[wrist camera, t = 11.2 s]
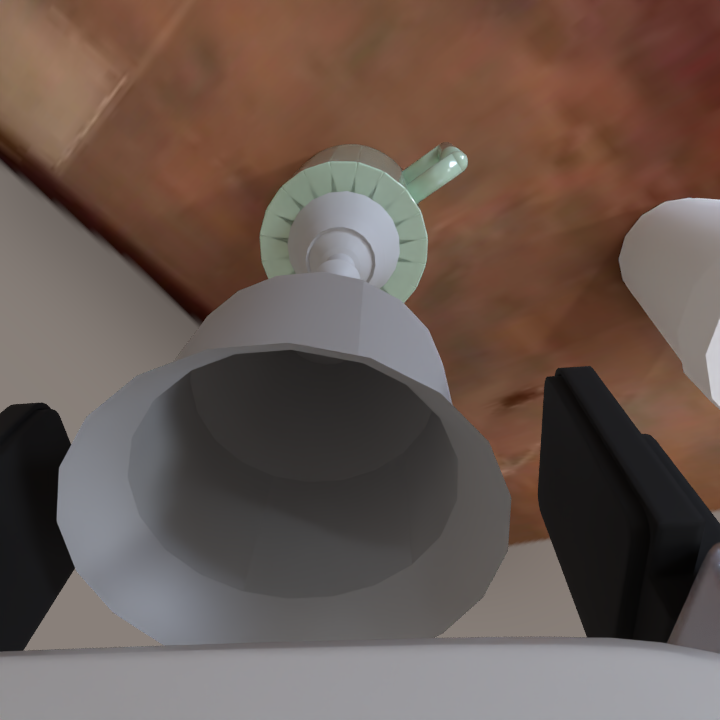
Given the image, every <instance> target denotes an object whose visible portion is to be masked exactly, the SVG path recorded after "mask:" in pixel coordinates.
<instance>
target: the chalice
mask: <svg viewBox="0 0 720 720" xmlns="http://www.w3.org/2000/svg"><path fill="white" fill-rule="evenodd" d="M287 245H288V252H289V259H290V263H291V265H292V267H293V269H294V271H295V273H296V274H291V275H280V276H275V277H272V278H270V279H267V280H265V281H262V282H260V283H257V284H255V285H252V286H250V287H247V288H244V289H242V290H239V291H237V292H236V293H235V294H234V295H233V296H231V297H230V298H229V299H228V300H226V301H225V302H224V303H223V304H222V305H220V306H219V307H218V308H217V309H216V310H214V311H213V312H212V313H211V314H209V315H208V316H207V318H206V319H205V320H204V322H203V323H202V324H201V326H200V327H199V328H198V330H197V331H196V332H195V334H194V335H193V336H192V338H191V339H190V340H189V342H188V343H187V344H186V346H185V347H184V348H183V349H182V351H181V352H180V353H179V355H178V356H177V358H176V359H175V360H174V361H173V362H172V363H169V364H167V365H164V366H162V367H158V368H156V369H153V370H150V371H148V372H145V373H142V374H140V375H137V376H136V377H135V378H133V379H132V380H131V381H130V382H129V383H127V384H126V385H125V386H124V387H122V388H121V389H120V390H119V391H117V392H116V393H115V394H114V395H113V396H111V397H110V398H109V399H108V400H106V402H104V403H103V404H102V405H100V406H99V407H98V408H97V409H95V410H94V411H93V412H92V413H91V414H89V415H88V416H87V417H86V419H85V420H84V422H83V424H82V426H81V428H80V430H79V431H78V433H77V435H76V437H75V439H74V441H73V443H72V444H71V446H70V448H69V450H68V452H67V454H66V456H65V457H64V459H63V461H62V463H61V465H60V467H59V479H58V500H57V523H58V526H59V529H60V531H61V534H62V536H63V539H64V541H65V544H66V546H67V549H68V551H69V554H70V556H71V559H72V561H73V564H74V566H75V568H76V571H77V572H78V573H79V574H80V576H81V577H82V578H83V579H84V580H85V581H86V582H87V583H88V585H89V586H90V587H91V588H92V589H93V590H94V591H95V593H96V594H97V595H98V596H99V597H100V598H101V599H102V601H103V602H104V603H105V604H106V605H107V606H108V607H109V608H110V610H111V611H112V612H113V613H114V614H116V615H118V616H119V617H121V618H122V619H124V620H125V621H127V622H128V623H130V624H131V625H133V626H135V627H136V628H138V629H139V630H141V631H142V632H144V633H146V634H147V635H148V636H150V637H152V638H153V639H155V640H156V641H158V642H160V643H161V644H162V645H165V646H171V645H202V644H234V643H265V642H302V641H339V640H376V639H414V638H435V637H437V636H439V635H441V634H442V633H444V632H445V631H446V630H447V629H448V628H449V627H450V626H452V625H453V624H454V623H455V622H456V621H457V620H458V619H459V618H461V617H462V616H463V615H464V614H465V613H466V612H467V611H468V610H469V609H471V608H472V607H473V606H474V605H475V604H476V603H477V602H478V601H480V600H481V599H482V598H483V596H484V594H485V593H486V591H487V589H488V587H489V585H490V583H491V581H492V580H493V578H494V576H495V574H496V572H497V570H498V568H499V566H500V564H501V563H502V561H503V559H504V557H505V555H506V553H507V551H508V539H509V524H510V508H511V496H510V493H509V491H508V488H507V486H506V483H505V481H504V478H503V476H502V473H501V471H500V468H499V466H498V463H497V461H496V458H495V456H494V453H493V451H492V448H491V446H490V443H489V442H488V441H487V440H486V439H485V438H484V437H483V435H482V434H481V433H480V432H479V431H478V430H477V429H476V428H475V427H474V426H473V425H472V424H471V423H470V422H469V421H468V420H467V419H466V418H465V417H464V416H463V415H462V414H461V413H460V412H459V411H458V410H457V409H456V408H455V407H454V406H453V405H452V401H451V396H450V392H449V388H448V384H447V380H446V376H445V371H444V367H443V363H442V361H441V358H440V356H439V354H438V351H437V349H436V346H435V344H434V342H433V339H432V337H431V334H430V332H429V329H428V328H427V327H426V326H425V325H424V324H423V323H422V322H421V321H420V320H419V319H418V318H417V317H416V316H415V315H414V314H413V313H412V311H411V310H410V309H409V308H408V307H407V306H406V305H405V304H404V303H403V302H402V301H401V300H399V299H397V298H396V297H394V296H392V295H390V294H388V293H386V292H384V291H382V290H381V289H380V288H381V287H382V286H384V285H385V284H386V283H387V281H388V280H389V278H390V277H391V275H392V274H393V272H394V271H395V269H396V265H397V261H398V258H399V254H400V248H399V235H398V232H397V230H396V227H395V225H394V222H393V219H392V218H391V217H390V216H389V214H388V213H387V212H386V211H385V210H384V208H383V207H382V206H381V205H380V204H378V203H376V202H375V201H373V200H372V199H370V198H368V197H367V196H365V195H361V194H357V193H353V192H349V191H343V192H331V193H327V194H325V195H322V196H320V197H318V198H316V199H313V200H312V201H311V202H309V203H308V204H307V205H306V206H305V207H304V208H303V209H302V210H301V211H299V213H298V215H297V216H296V218H295V220H294V222H293V224H292V225H291V227H290V233H289V238H288V244H287Z"/></svg>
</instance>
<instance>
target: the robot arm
mask: <svg viewBox="0 0 720 720" xmlns="http://www.w3.org/2000/svg"><path fill="white" fill-rule="evenodd" d="M70 446H71V443H70V441H69V438H68V436H67V433H66V431H65V428H64V426H63V423H62V421H61V418H60V416H59V414H58V413H57V412H56V411H55V410H53V409H51V408H50V407H49V406H48V405H47V404H44V403H29V404H15V405H10V406H9V407H7V408H6V409H5V410H4V411H2V412H1V413H0V720H720V523H719V522H718V521H717V519H716V518H715V517H714V515H713V514H712V513H711V511H710V510H709V509H708V508H707V506H706V505H705V504H704V502H703V501H702V500H701V498H700V497H699V496H698V495H697V493H696V492H695V491H694V489H693V488H692V487H691V485H690V484H689V483H688V481H687V480H686V479H685V478H684V476H683V475H682V474H681V472H680V471H679V470H678V468H677V467H676V466H675V465H674V463H673V462H672V461H671V459H670V458H669V457H668V455H667V454H666V453H665V452H664V450H663V449H662V448H661V446H660V445H659V444H658V442H657V441H656V440H655V439H654V438H653V437H652V436H651V435H648V434H641V433H640V432H639V430H638V429H637V428H636V426H635V425H634V423H633V422H632V421H631V419H630V418H629V417H628V415H627V414H626V413H625V411H624V410H623V409H622V407H621V406H620V405H619V403H618V402H617V401H616V399H615V398H614V396H613V395H612V394H611V392H610V391H609V390H608V388H607V387H606V386H605V384H604V383H603V382H602V380H601V379H600V378H599V376H598V375H597V373H596V372H595V371H594V369H593V368H592V367H591V366H585V367H570V368H558V369H557V370H556V373H555V376H552V377H547V378H546V380H545V385H544V401H543V418H542V434H541V450H540V466H539V483H538V501H539V507H540V511H541V514H542V517H543V520H544V522H545V525H546V528H547V531H548V533H549V536H550V539H551V541H552V544H553V547H554V549H555V552H556V555H557V557H558V560H559V563H560V565H561V568H562V571H563V574H564V576H565V579H566V582H567V584H568V587H569V590H570V592H571V595H572V598H573V601H574V603H575V606H576V609H577V611H578V614H579V617H580V619H581V622H582V625H583V628H584V630H585V633H586V636H587V637H586V638H585V637H582V638H581V637H475V638H474V637H471V638H414V639H376V640H339V641H302V642H265V643H234V644H202V645H171V646H145V647H144V646H141V647H113V648H112V647H111V648H81V649H55V650H28V651H23V650H24V648H25V647H26V645H27V644H28V642H29V640H30V639H31V637H32V636H33V634H34V632H35V631H36V629H37V628H38V626H39V625H40V623H41V621H42V620H43V618H44V617H45V615H46V613H47V612H48V610H49V609H50V607H51V605H52V604H53V602H54V600H55V599H56V597H57V596H58V594H59V592H60V591H61V589H62V588H63V586H64V585H65V583H66V581H67V580H68V578H69V577H70V575H71V574H72V572H73V570H74V569H75V566H74V564H73V561H72V559H71V556H70V554H69V551H68V549H67V546H66V544H65V541H64V539H63V536H62V534H61V531H60V529H59V526H58V523H57V500H58V479H59V467H60V465H61V463H62V461H63V459H64V457H65V456H66V454H67V452H68V450H69V448H70Z"/></svg>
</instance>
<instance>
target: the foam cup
mask: <svg viewBox="0 0 720 720" xmlns="http://www.w3.org/2000/svg"><path fill="white" fill-rule="evenodd" d="M619 264H620V269H621V274H622V279H623V281H624V282H625V285H626V286H627V288H628V289H629V290H630V292H631V293H632V294H633V296H634V297H635V298H636V300H637V301H638V303H639V304H640V305H641V307H642V308H643V309H644V311H645V312H646V314H647V315H648V316H649V318H650V319H651V320H652V322H653V323H654V324H655V326H656V327H657V329H658V330H659V331H660V333H661V334H662V335H663V337H664V338H665V340H666V341H667V342H668V344H669V345H670V346H671V348H672V349H673V350H674V352H675V353H676V355H677V356H678V357H679V359H680V360H681V361H682V366H683V372H684V373H685V374H686V375H687V377H688V378H689V379H690V380H691V381H692V382H693V383H694V384H695V385H696V386H697V387H698V388H699V389H700V390H701V391H702V393H703V394H704V395H705V396H706V397H707V398H708V399H709V400H710V401H711V402H712V403H713V404H714V405H715V406H716V407H717V408H718V409H720V200H716V199H703V198H694V199H693V198H686V199H679V200H672V201H665V202H664V203H662V204H660V205H658V206H657V207H655V208H653V209H652V210H650V211H648V212H647V213H645V214H643V215H642V216H641V217H640V218H639V219H638V221H637V222H636V223H635V224H634V226H633V227H632V228H631V229H630V231H629V232H628V233H627V234H626V236H625V238H624V242H623V245H622V249H621V252H620V256H619Z"/></svg>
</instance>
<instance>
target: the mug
mask: <svg viewBox="0 0 720 720" xmlns="http://www.w3.org/2000/svg"><path fill="white" fill-rule="evenodd" d="M467 165H468V159H467V156H466V155H465V154H464V153H463V152H462V151H460V150H459V149H458V148H456V147H455V146H453V145H452V144H451V143H449V142H443V143H441V144H439V145H438V146H437V147H435V148H434V149H432V150H431V151H430V152H428V153H427V154H425V155H424V156H423V157H421V158H420V159H419V160H417V161H416V162H414V163H413V164H412V165H410V166H409V167H407V168H406V169H405V170H403V171H402V169H401V168H400V167H399V166H398V165H397V164H396V163H395V162H394V161H393V160H392V159H391V158H390V157H388V156H387V155H385V154H384V153H382V152H380V151H378V150H376V149H373V148H371V147H367V146H363V145H356V144H344V145H338V146H334V147H331V148H328V149H326V150H323V151H321V152H319V153H318V154H316V155H315V156H313V157H312V158H311V159H310V160H308V161H307V162H306V163H305V164H303V165H302V166H301V167H300V168H299V169H298V170H297V171H296V172H295V173H294V174H293V175H292V176H291V177H290V178H289V179H288V180H287V181H286V182H285V183H284V184H283V185H282V186H281V187H280V189H279V190H278V192H277V193H276V195H275V196H274V198H273V199H272V201H271V202H270V204H269V205H268V207H267V209H266V211H265V215H264V219H263V223H262V226H261V230H260V251H261V260H262V264H263V267H264V269H265V272H266V274H267V277H268V279H270V278H272V277H275V276H280V275H291V274H296V273H295V271H294V269H293V267H292V265H291V263H290V259H289V252H288V245H287V244H288V238H289V233H290V227H291V225H292V224H293V222H294V220H295V218H296V216H297V215H298V213H299V211H301V210H302V209H303V208H304V207H305V206H306V205H307V204H308V203H309V202H311V201H312V200H313V199H316V198H318V197H320V196H322V195H325V194H327V193H331V192H343V191H349V192H353V193H357V194H361V195H365V196H367V197H368V198H370V199H372V200H373V201H375V202H376V203H378V204H380V205H381V206H382V207H383V208H384V210H385V211H386V212H387V213H388V214H389V216H390V217H391V218H392V219H393V222H394V225H395V227H396V230H397V232H398V235H399V248H400V254H399V258H398V261H397V265H396V269H395V271H394V272H393V274H392V275H391V277H390V278H389V280H388V281H387V283H386V284H385V285H384V286H382V287H381V288H380V289H381V290H382V291H384V292H386V293H388V294H390V295H392V296H394V297H396V298H397V299H399V300H401V301H402V302H403V303H405V301H406V300H407V299H408V298H409V297H410V296H411V294H412V293H413V292H414V291H415V290H416V287H417V286H418V284H419V281H420V279H421V276H422V274H423V271H424V269H425V266H426V262H427V247H428V238H427V237H428V236H427V232H426V228H425V224H424V220H423V216H422V213H421V210H420V207H419V204H418V203H419V202H421V201H422V200H423V199H425V198H426V197H428V196H429V195H431V194H432V193H433V192H435V191H436V190H438V189H439V188H441V187H442V186H444V185H445V184H446V183H448V182H449V181H451V180H452V179H454V178H455V177H457V176H458V175H459V174H461V173H462V172H464V171H465V169H466V168H467Z"/></svg>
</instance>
